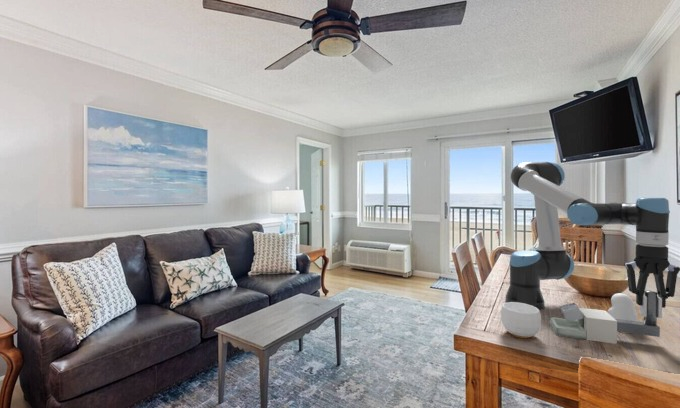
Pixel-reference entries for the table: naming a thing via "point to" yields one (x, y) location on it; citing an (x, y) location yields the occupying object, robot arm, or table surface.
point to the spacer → (571, 312)
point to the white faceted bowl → (521, 319)
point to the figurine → (622, 307)
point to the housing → (599, 326)
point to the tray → (567, 328)
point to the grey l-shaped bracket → (637, 327)
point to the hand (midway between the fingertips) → (650, 315)
